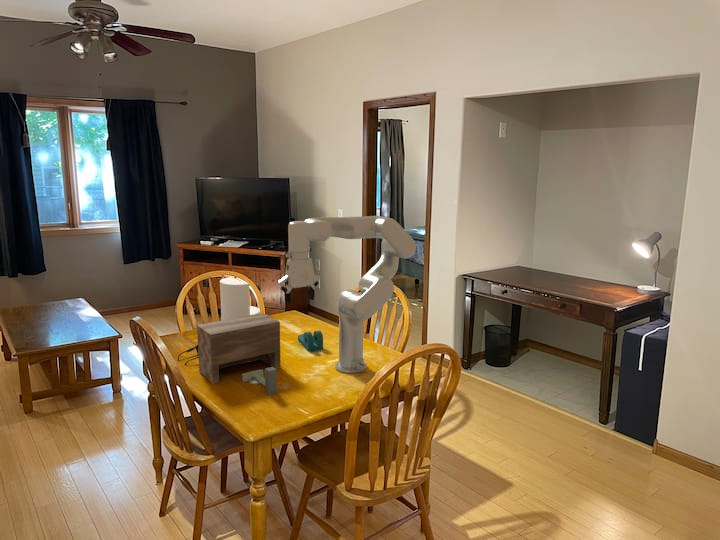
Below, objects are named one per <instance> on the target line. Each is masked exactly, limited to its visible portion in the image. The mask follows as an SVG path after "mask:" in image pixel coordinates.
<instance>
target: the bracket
mask: <svg viewBox="0 0 720 540" xmlns="http://www.w3.org/2000/svg"><path fill="white" fill-rule="evenodd" d="M297 341H299V342H298V343H299V344H300V343H301V344H300V345H301V346H302V347H303V348H304V349H305V350H306V351H307V352H308V353H310V352H317V351H324V335H323V333H322V331H321V330H314V331H313V333H312V332H311V331H306V332H305V331H304V333H301V334H298V335H297Z"/></svg>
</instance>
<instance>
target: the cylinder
mask: <svg viewBox="0 0 720 540" xmlns="http://www.w3.org/2000/svg"><path fill="white" fill-rule="evenodd" d="M219 289H220V290H219V291H220V293H219V295H220V314H221V316H220V319H221V320H220V321H222V320H228V319H234V318H239V317H245V316H251V315H256V314H261V308H259V307H257V306H254V305H253V306H252V305H250V283H248V282H245V281H242V280H240V279H237V278H235V277H233V276H227V277H223V278H222V279H220V280H219Z"/></svg>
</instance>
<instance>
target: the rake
mask: <svg viewBox="0 0 720 540" xmlns="http://www.w3.org/2000/svg"><path fill="white" fill-rule="evenodd" d="M277 374H278V373H277V368H276V369H275V368H274V367H272V366H271V367H266V368H264V369H262V368H261V369H256V370H252V371H249V372H244V373H241V379H242V382H248V381H249V379H250V378H252V377H254V378H256V379H257V380H258V381H260V382H261V384H263V385H264V387H265V388H264V389H265V393H266V394H267V395H269V396H271V395H275V394H277V393H278V383H277V382H278V380H277V377H278V376H277Z"/></svg>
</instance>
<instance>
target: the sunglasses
mask: <svg viewBox="0 0 720 540" xmlns="http://www.w3.org/2000/svg"><path fill="white" fill-rule="evenodd" d="M194 350H195V351H196V353H197V354H198V344H197V345H195V346H193V347H191V348H189V349H187V350H185V351H183V352H181V353H180V354H179V355H178V356H177V362H179V361H178V360H179V358H180V356H181V355H182V354H184V353H190V352H193V351H194ZM196 359H199V356H197V357H195V358H192V359H189V360H187V361H186V362H185V363H184V365H185V364H186V365H187V364H188V362H190V361H194V360H196Z"/></svg>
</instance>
